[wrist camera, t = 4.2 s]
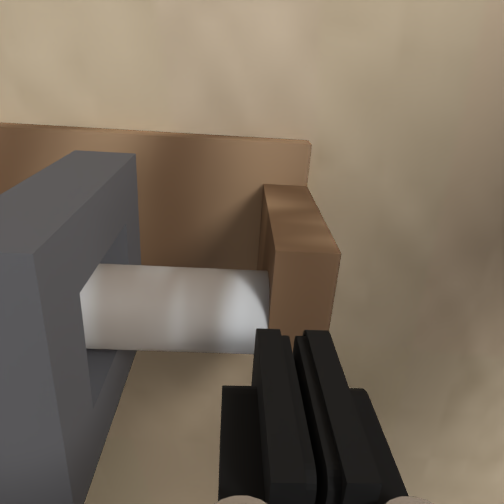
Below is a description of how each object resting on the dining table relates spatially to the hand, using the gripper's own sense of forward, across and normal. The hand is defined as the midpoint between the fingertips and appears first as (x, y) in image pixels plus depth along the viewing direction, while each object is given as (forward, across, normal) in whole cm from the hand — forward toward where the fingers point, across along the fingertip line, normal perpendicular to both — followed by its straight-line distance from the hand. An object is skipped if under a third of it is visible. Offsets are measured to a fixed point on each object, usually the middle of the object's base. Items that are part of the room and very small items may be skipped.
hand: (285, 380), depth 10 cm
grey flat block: (+7, +6, 0) cm, 9 cm away
